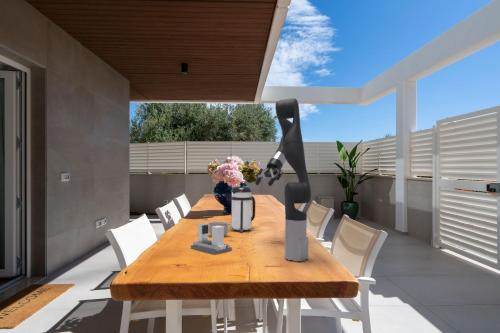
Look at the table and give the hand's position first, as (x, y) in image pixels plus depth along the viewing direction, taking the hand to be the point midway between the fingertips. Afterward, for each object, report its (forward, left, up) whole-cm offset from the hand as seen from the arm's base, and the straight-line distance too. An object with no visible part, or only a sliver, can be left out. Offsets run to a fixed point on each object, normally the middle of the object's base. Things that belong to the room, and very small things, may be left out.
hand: (262, 184), depth 179 cm
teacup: (+30, +1, -31) cm, 43 cm away
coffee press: (+34, -21, -31) cm, 51 cm away
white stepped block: (+6, +25, -29) cm, 39 cm away
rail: (+11, +25, -31) cm, 41 cm away
